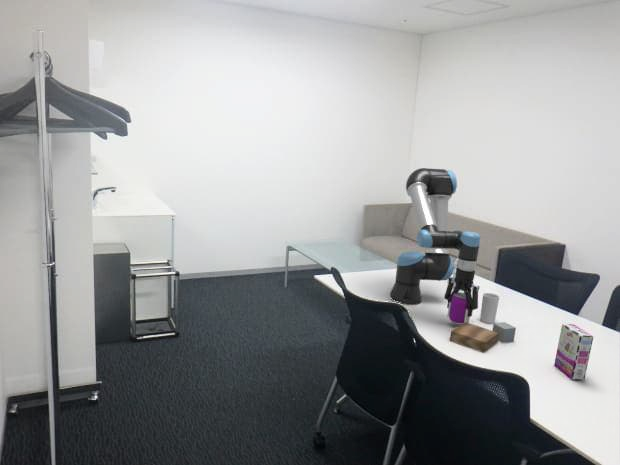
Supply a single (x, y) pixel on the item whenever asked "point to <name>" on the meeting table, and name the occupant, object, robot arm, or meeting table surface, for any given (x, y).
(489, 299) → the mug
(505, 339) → the grey block
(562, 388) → the meeting table surface
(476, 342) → the walnut block
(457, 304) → the beverage can
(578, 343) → the candy bar box
